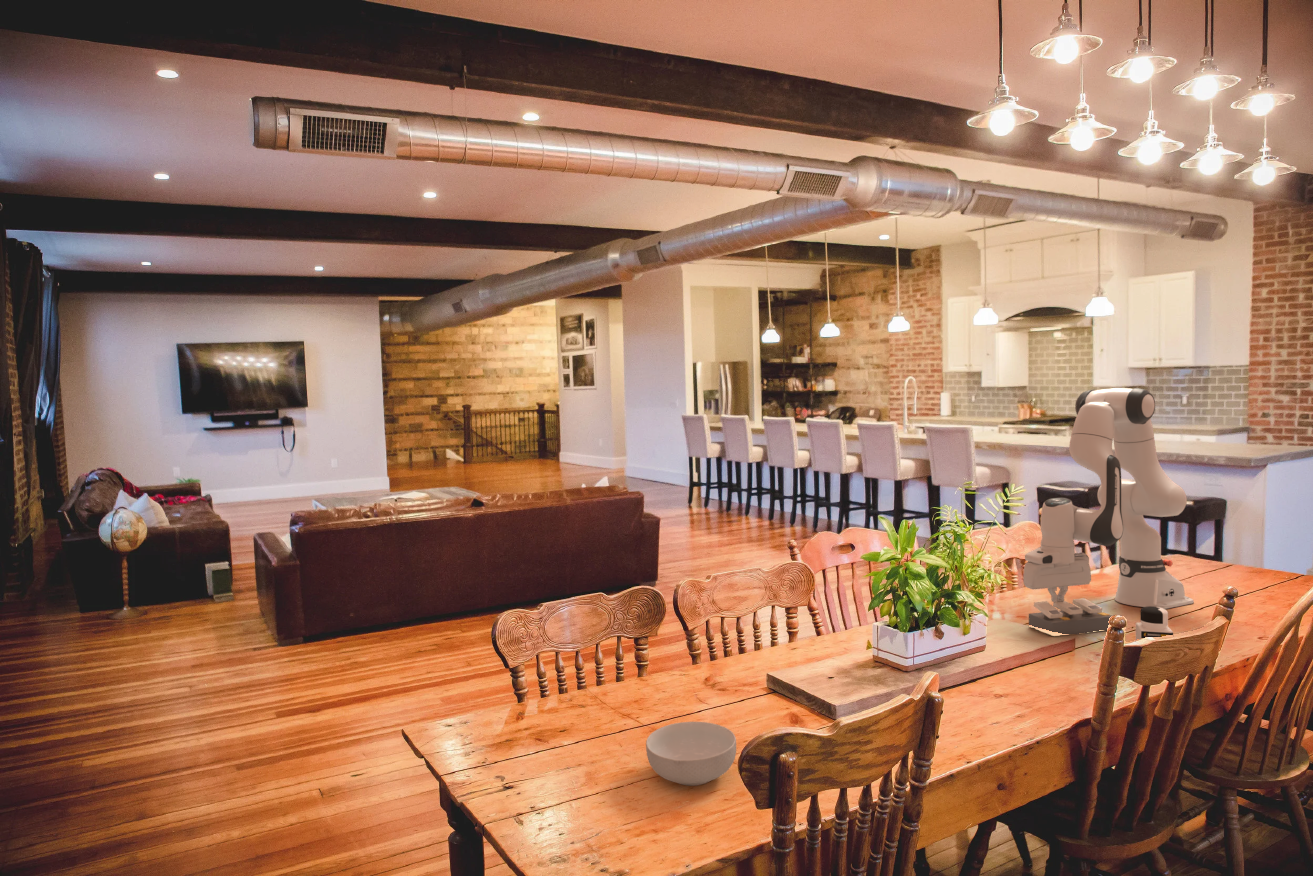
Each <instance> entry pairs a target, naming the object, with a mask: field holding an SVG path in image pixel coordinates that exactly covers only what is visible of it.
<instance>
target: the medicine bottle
mask: <svg viewBox="0 0 1313 876" xmlns="http://www.w3.org/2000/svg"><path fill="white" fill-rule="evenodd" d="M1139 611H1140V616H1139V617H1140V622H1138V621H1137V622H1135V641H1136V640H1137V639H1141V638H1145V637H1162V636H1166V635H1173V636H1174V631H1173V630H1172V629H1171V628H1170V627H1169V611H1167V609H1163V608H1160V607H1153V606H1147V607H1141V608H1140V610H1139Z"/></svg>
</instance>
